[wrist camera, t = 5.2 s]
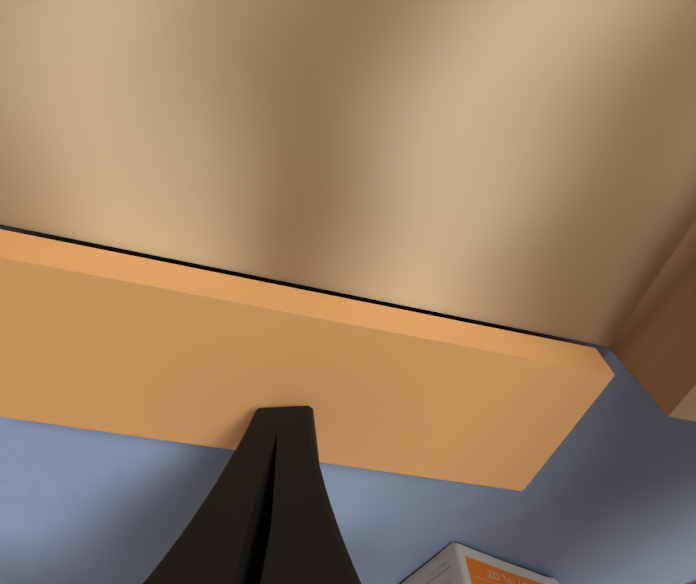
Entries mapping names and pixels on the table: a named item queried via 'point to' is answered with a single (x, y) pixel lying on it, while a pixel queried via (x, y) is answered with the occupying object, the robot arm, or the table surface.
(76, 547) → the table surface
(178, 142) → the tray
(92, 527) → the table surface
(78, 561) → the table surface
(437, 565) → the skincare box
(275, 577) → the robot arm
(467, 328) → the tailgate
